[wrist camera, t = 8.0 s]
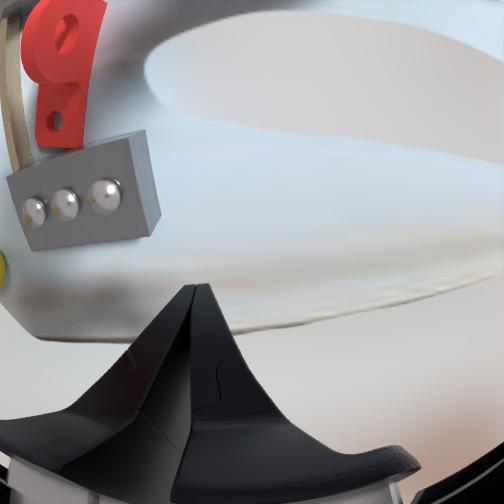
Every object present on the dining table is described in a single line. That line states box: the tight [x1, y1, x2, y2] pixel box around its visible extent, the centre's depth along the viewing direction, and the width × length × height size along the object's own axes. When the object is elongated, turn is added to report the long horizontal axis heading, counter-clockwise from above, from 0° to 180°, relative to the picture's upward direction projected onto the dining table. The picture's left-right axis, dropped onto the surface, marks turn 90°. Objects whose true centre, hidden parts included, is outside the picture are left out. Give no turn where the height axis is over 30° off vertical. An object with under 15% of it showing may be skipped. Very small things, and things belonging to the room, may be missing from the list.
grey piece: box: [0, 0, 161, 251], centre depth 12 cm, size 12×29×4 cm, turn 4°
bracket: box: [21, 0, 107, 148], centre depth 11 cm, size 12×4×8 cm, turn 167°
